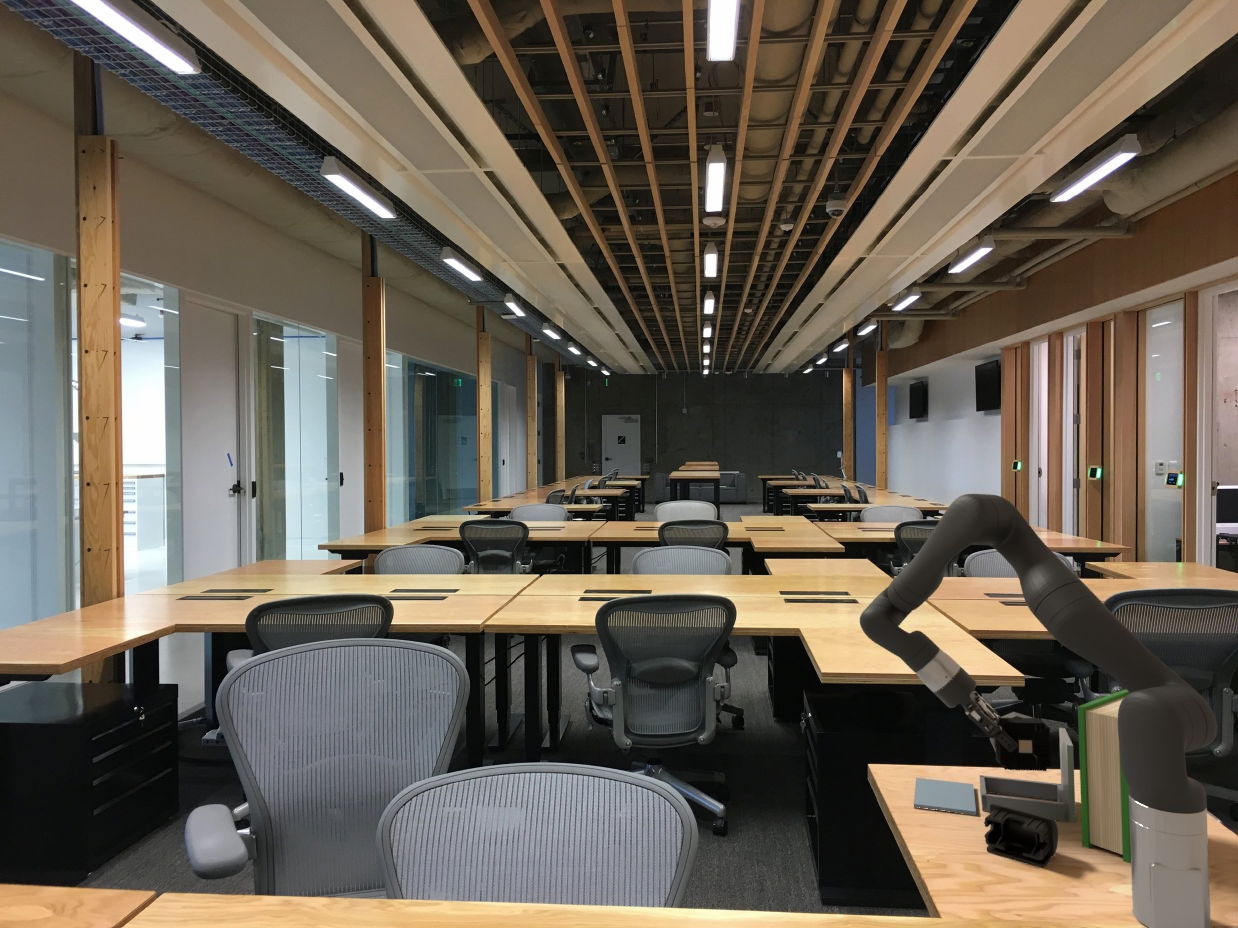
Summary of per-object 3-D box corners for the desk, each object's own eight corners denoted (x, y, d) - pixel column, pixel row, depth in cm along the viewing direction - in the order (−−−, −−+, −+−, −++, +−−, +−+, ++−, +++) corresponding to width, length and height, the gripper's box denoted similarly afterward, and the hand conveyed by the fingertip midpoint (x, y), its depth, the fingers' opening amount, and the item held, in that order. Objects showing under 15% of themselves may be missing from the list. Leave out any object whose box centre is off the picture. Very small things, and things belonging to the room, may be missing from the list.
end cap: (1059, 854, 135) (1058, 813, 135) (1046, 869, 130) (1045, 828, 130) (997, 836, 142) (996, 798, 142) (982, 851, 137) (981, 811, 137)
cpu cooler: (1044, 763, 157) (1042, 711, 157) (1055, 774, 151) (1053, 720, 151) (989, 762, 158) (987, 710, 159) (998, 772, 153) (996, 719, 153)
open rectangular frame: (1075, 822, 146) (1073, 745, 147) (982, 810, 152) (980, 737, 152) (1067, 799, 156) (1064, 728, 156) (980, 789, 162) (977, 720, 162)
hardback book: (1129, 862, 131) (1124, 716, 131) (1082, 845, 137) (1077, 706, 138) (1176, 833, 141) (1171, 697, 141) (1131, 819, 147) (1126, 688, 147)
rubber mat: (976, 815, 150) (975, 811, 150) (913, 807, 154) (913, 803, 154) (973, 787, 163) (973, 783, 163) (916, 781, 167) (916, 777, 167)
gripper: (959, 673, 152) (1031, 742, 147) (958, 657, 165) (1024, 720, 161) (930, 699, 154) (1001, 768, 149) (931, 681, 167) (996, 744, 162)
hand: (1012, 743), depth 155 cm, fingers closed on cpu cooler, 6 cm apart
